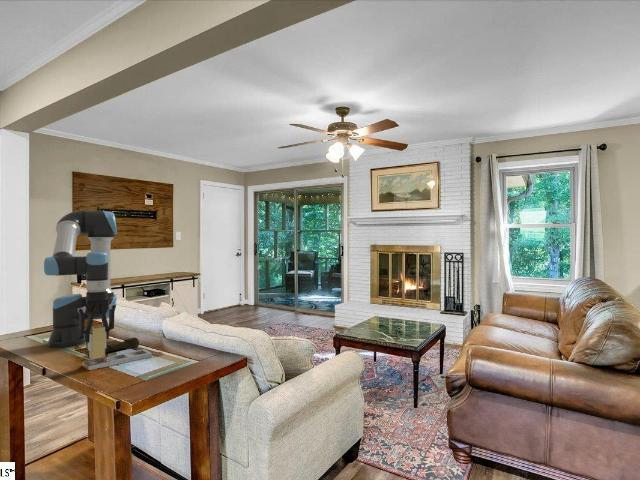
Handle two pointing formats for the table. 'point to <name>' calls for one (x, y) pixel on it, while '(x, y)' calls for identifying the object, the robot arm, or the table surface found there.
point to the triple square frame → (116, 359)
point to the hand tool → (122, 345)
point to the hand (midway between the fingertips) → (97, 348)
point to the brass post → (97, 342)
